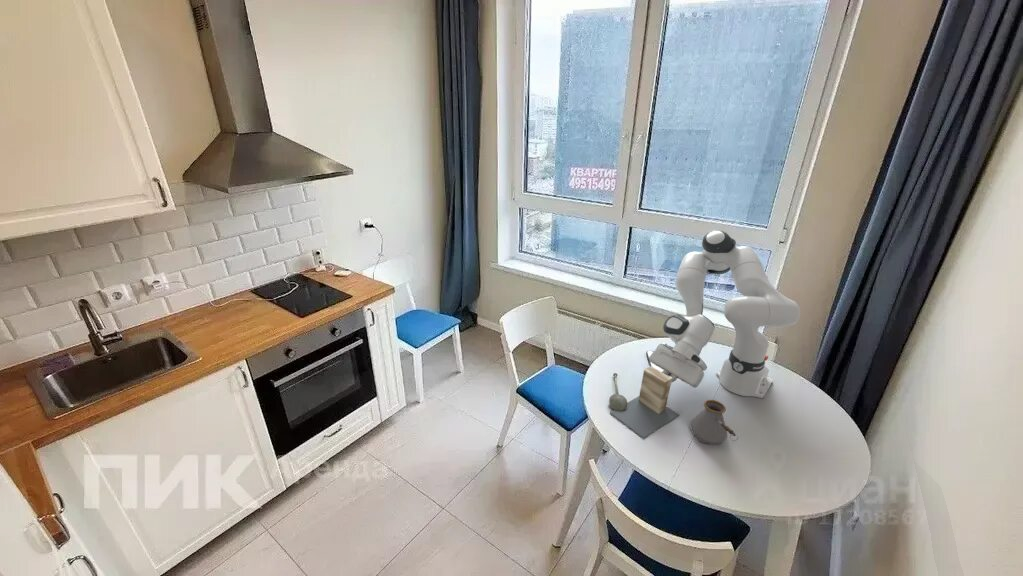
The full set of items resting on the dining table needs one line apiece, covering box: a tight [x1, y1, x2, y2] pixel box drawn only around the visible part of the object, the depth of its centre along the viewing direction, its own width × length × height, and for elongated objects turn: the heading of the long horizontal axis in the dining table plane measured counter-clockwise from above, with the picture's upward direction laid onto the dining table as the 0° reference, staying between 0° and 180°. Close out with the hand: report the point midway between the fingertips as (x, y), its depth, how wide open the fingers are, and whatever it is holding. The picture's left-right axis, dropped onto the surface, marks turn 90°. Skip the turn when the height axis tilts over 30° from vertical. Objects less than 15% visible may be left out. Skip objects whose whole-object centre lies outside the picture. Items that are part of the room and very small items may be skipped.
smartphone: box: [645, 350, 672, 376], centre depth 178 cm, size 9×2×16 cm
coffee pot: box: [689, 399, 739, 445], centre depth 132 cm, size 21×12×15 cm, turn 174°
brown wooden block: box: [638, 365, 673, 414], centre depth 150 cm, size 4×9×14 cm, turn 35°
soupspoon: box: [608, 372, 628, 411], centre depth 159 cm, size 22×3×7 cm
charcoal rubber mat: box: [609, 395, 680, 440], centre depth 148 cm, size 20×15×1 cm
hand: (663, 383), depth 153 cm, fingers closed
